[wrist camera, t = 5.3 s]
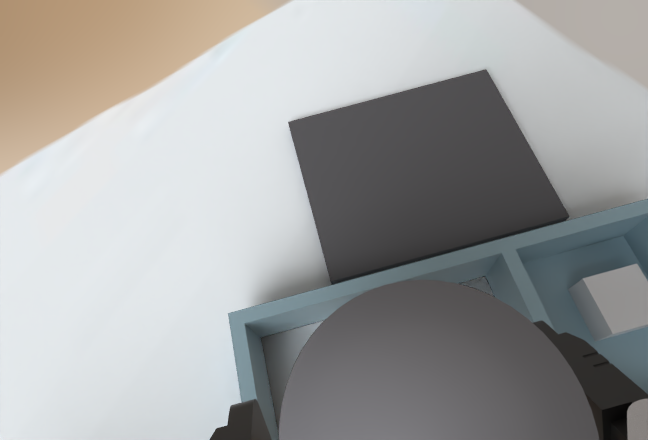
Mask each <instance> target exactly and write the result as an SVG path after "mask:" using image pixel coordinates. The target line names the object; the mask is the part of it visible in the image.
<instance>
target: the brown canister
mask: <svg viewBox="0 0 648 440" xmlns="http://www.w3.org/2000/svg"><path fill="white" fill-rule="evenodd" d="M279 440H599V435H598V431H597V427H596V424H595V420H594V417H593V413H592V410H591V407H590V405H589V402H588V400H587V398H586V395H585V393H584V390H583V388H582V386H581V384H580V383H579V381H578V379H577V377H576V375H575V374H574V372H573V370H572V368H571V367H570V365H569V364H568V362H567V361H566V360H565V358H564V357H563V355H562V354H561V353H560V351H559V350H558V349H557V347H556V346H555V345H554V344H553V343H552V342H551V341H550V340H549V338H548V337H547V336H546V335H545V334H544V333H543V332H542V331H541V330H540V329H539V328H538V327H537V326H535V325H534V324H533V323H532V322H531V321H530V320H529V319H528V318H526V317H525V316H523V315H522V314H521V313H519V312H518V311H517V310H515V309H514V308H512V307H511V306H509V305H507V304H506V303H504V302H502V301H500V300H499V299H497V298H495V297H493V296H491V295H489V294H486V293H484V292H481V291H479V290H477V289H474V288H470V287H467V286H464V285H460V284H456V283H451V282H445V281H438V280H411V281H401V282H396V283H391V284H387V285H383V286H380V287H378V288H375V289H372V290H369V291H367V292H365V293H363V294H361V295H359V296H357V297H355V298H353V299H351V300H350V301H348V302H347V303H345V304H344V305H342V306H341V307H339V308H338V309H337V310H336V311H335V312H333V313H332V314H331V315H330V316H329V317H328V318H327V319H325V320H324V322H323V323H322V324H321V325H320V326H319V327H318V328H317V329H316V331H315V332H314V333H313V334H312V335H311V337H310V338H309V340H308V341H307V343H306V344H305V346H304V347H303V349H302V350H301V352H300V354H299V356H298V358H297V360H296V362H295V364H294V366H293V368H292V371H291V374H290V377H289V379H288V382H287V385H286V389H285V393H284V397H283V401H282V406H281V414H280V423H279Z"/></svg>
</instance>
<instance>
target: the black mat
mask: <svg viewBox="0 0 648 440" xmlns="http://www.w3.org/2000/svg"><path fill="white" fill-rule="evenodd" d="M288 123H289V127H290V131H291V135H292V138H293V142H294V146H295V149H296V153H297V157H298V161H299V164H300V168H301V172H302V176H303V179H304V183H305V187H306V190H307V194H308V198H309V202H310V205H311V209H312V213H313V216H314V220H315V224H316V228H317V231H318V235H319V239H320V242H321V246H322V250H323V254H324V257H325V261H326V265H327V268H328V272H329V276H330V280H331V283H332V284H336V283H339V282H343V281H347V280H350V279H354V278H357V277H361V276H365V275H368V274H372V273H376V272H379V271H383V270H387V269H390V268H394V267H398V266H401V265H405V264H409V263H412V262H416V261H420V260H423V259H427V258H431V257H434V256H438V255H442V254H445V253H449V252H453V251H456V250H460V249H464V248H467V247H471V246H475V245H478V244H482V243H486V242H489V241H493V240H497V239H500V238H504V237H508V236H511V235H515V234H519V233H522V232H526V231H530V230H533V229H537V228H541V227H544V226H548V225H552V224H555V223H559V222H563V221H565V220H566V219H567V218H568V217H569V215H568V213H567V211H566V210H565V208H564V206H563V204H562V203H561V201H560V199H559V197H558V196H557V194H556V192H555V190H554V188H553V187H552V185H551V183H550V181H549V180H548V178H547V176H546V174H545V173H544V171H543V169H542V167H541V165H540V164H539V162H538V160H537V158H536V157H535V155H534V153H533V151H532V150H531V148H530V146H529V144H528V142H527V141H526V139H525V137H524V135H523V134H522V132H521V130H520V128H519V127H518V125H517V123H516V121H515V119H514V118H513V116H512V114H511V112H510V111H509V109H508V107H507V105H506V103H505V102H504V100H503V98H502V96H501V95H500V93H499V91H498V89H497V88H496V86H495V84H494V82H493V80H492V79H491V77H490V75H489V73H488V72H487V70H482V71H479V72H475V73H471V74H467V75H463V76H460V77H456V78H452V79H448V80H445V81H441V82H437V83H433V84H430V85H426V86H422V87H418V88H415V89H411V90H407V91H403V92H400V93H396V94H392V95H388V96H384V97H381V98H377V99H373V100H369V101H366V102H362V103H358V104H354V105H351V106H347V107H343V108H339V109H336V110H332V111H328V112H324V113H320V114H317V115H313V116H309V117H305V118H302V119H298V120H294V121H290V122H288Z"/></svg>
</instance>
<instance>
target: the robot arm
mask: <svg viewBox="0 0 648 440" xmlns="http://www.w3.org/2000/svg"><path fill="white" fill-rule="evenodd" d="M533 324H534V325H535V326H537V327H538V328H539V329H540V330H541V331H542V332H543V333H544V334H545V335H546V336H547V337H548V338H549V340H550V341H551V342H552V343H553V344H554V345H555V346H556V347H557V349H558V350H559V351H560V353H561V354H562V355H563V357H564V358H565V360H566V361H567V362H568V364H569V365H570V367H571V368H572V370H573V372H574V374H575V375H576V377H577V379H578V381H579V383H580V384H581V386H582V388H583V390H584V393H585V395H586V398H587V400H588V402H589V405H590V407H591V410H592V413H593V417H594V420H595V424H596V427H597V431H598V435H599V440H648V394H647V393H646V392H645V391H643V390H642V389H641V388H640V387H639V386H638V385H636V384H635V383H634V382H633V381H632V380H631V379H629V378H628V377H627V376H626V375H625V374H624V373H622V372H621V371H620V370H619V369H618V368H617V367H615V366H614V365H613V364H612V363H611V364H610V363H609V361H608V360H607V359H606V358H605V357H604V356H602V355H601V354H599V353H598V351H597V350H595V349H594V348H593V347H592V346H591V345H590V344H588V343H587V342H586V341H585V340H583V339H581V338H578V337H576V336H574V335H572V334H569V333H567V332H565V333H561V334H558V333H556V332H555V331H554V330H553V329H552V328H551V327H550V326H549V325H548V324H547V323H545V322H544V321H542V320H541V321H537V322H533ZM210 440H272V439H271V436H270V433H269V431H268V428H267V425H266V422H265V420H264V417H263V414H262V411H261V409H260V406H259V403H258V401H257V400H256V399H253V400H249V401H246V402H242V403H238V404H235V405H232V406H231V407H230V411H229V418H228V425H227V426H224V427H220V428H217V429H216V430H215V432H214V433H213V435H212V437H211V438H210Z"/></svg>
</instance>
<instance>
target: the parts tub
mask: <svg viewBox="0 0 648 440" xmlns="http://www.w3.org/2000/svg"><path fill="white" fill-rule="evenodd" d="M483 276H486V278H487V280H488V283H489V285H490V287H491V290H492V292H493V294H494V296H495V298H497V299H499V300H500V301H502V302H504V303H506V304H507V305H509V306H511V307H512V308H514V309H515V310H517V311H518V312H519V313H521V314H522V315H523V316H525V317H526V318H528V319H529V320H530V321H531V322H532V323H533V322H537V321H541V320H542V321H544V322H545V323H547V324H548V325H549V326H550V327H551V328H552V329H553V330H554V331H555V332H556V333H558V334H561V333H565V332H567V333H569V334H572V335H574V336H576V337H578V338H581V339H583V340H585V341H586V342H587V343H588V344H590V345H591V346H592V347H593V348H594V349H595V350H597V351H598V353H599V354H601V355H602V356H604V357H605V358H606V359H607V360H608V361H609V363H610V364H611V363H612V364H613V365H614V366H615V367H617V368H618V369H619V370H620V371H621V372H622V373H624V374H625V375H626V376H627V377H628V378H629V379H631V380H632V381H633V382H634V383H635V384H636V385H638V386H639V387H640V388H641V389H642V390H643V391H645V392H646V393H647V394H648V199H645V200H641V201H638V202H634V203H630V204H627V205H623V206H619V207H616V208H612V209H609V210H605V211H601V212H598V213H594V214H590V215H587V216H583V217H579V218H576V219H572V220H568V221H565V222H561V223H557V224H554V225H550V226H546V227H543V228H539V229H535V230H532V231H528V232H524V233H521V234H517V235H513V236H510V237H506V238H502V239H499V240H495V241H491V242H488V243H484V244H480V245H477V246H473V247H469V248H466V249H462V250H458V251H455V252H451V253H447V254H444V255H440V256H436V257H433V258H429V259H425V260H422V261H418V262H414V263H411V264H407V265H403V266H400V267H396V268H392V269H389V270H385V271H382V272H378V273H374V274H371V275H367V276H363V277H360V278H356V279H352V280H349V281H345V282H341V283H338V284H334V285H330V286H327V287H323V288H319V289H316V290H312V291H308V292H305V293H301V294H297V295H294V296H290V297H286V298H283V299H279V300H275V301H272V302H268V303H264V304H261V305H257V306H253V307H250V308H246V309H242V310H239V311H235V312H231V313H228V316H229V323H230V329H231V336H232V342H233V349H234V355H235V362H236V368H237V375H238V381H239V388H240V395H241V401H242V402H246V401H249V400H253V399H256V400H257V401H258V403H259V406H260V409H261V411H262V414H263V417H264V420H265V422H266V425H267V428H268V431H269V433H270V436H271V439H272V440H279V435H278V429H277V424H276V418H275V413H274V407H273V402H272V396H271V391H270V385H269V380H268V374H267V369H266V363H265V358H264V352H263V347H262V341H261V337H265V336H268V335H272V334H276V333H279V332H283V331H287V330H290V329H294V328H297V327H301V326H305V325H308V324H312V323H316V322H319V321H323V320H325V319H327V318H328V317H329V316H330V315H331V314H332V313H333V312H335V311H336V310H337V309H338V308H339V307H341V306H342V305H344V304H345V303H347V302H348V301H350V300H351V299H353V298H355V297H357V296H359V295H361V294H363V293H365V292H367V291H369V290H372V289H375V288H378V287H380V286H383V285H387V284H391V283H396V282H401V281H411V280H438V281H445V282H451V283H456V284H458V283H461V282H465V281H469V280H472V279H476V278H480V277H483Z"/></svg>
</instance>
